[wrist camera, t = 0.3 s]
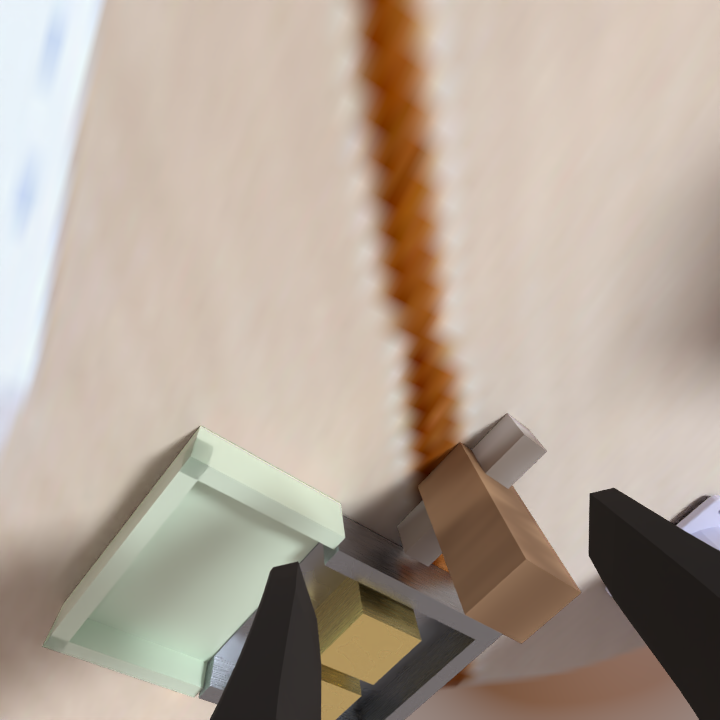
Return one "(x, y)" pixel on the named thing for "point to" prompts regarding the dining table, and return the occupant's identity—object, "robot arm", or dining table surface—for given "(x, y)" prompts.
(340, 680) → the chip
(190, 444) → the tray
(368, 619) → the brushed gold cube
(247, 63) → the dining table surface
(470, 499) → the brown block with peg
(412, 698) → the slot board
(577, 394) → the dining table surface
